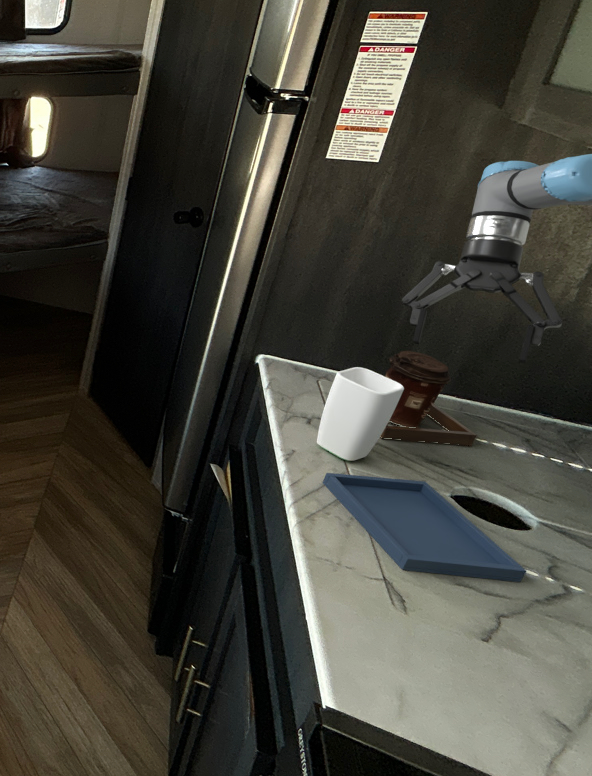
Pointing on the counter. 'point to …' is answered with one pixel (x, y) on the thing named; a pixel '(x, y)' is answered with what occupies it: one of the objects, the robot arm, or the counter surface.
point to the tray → (421, 528)
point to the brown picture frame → (434, 431)
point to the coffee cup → (416, 385)
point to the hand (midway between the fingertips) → (466, 351)
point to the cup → (357, 412)
